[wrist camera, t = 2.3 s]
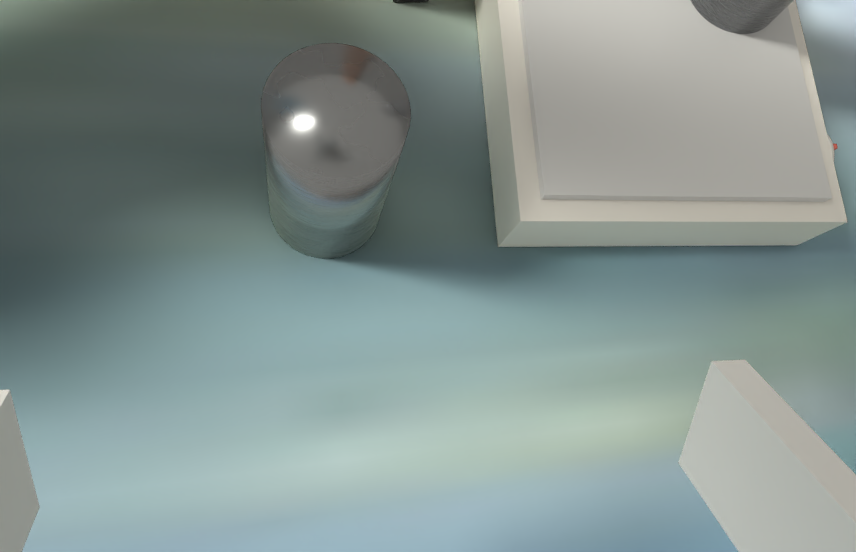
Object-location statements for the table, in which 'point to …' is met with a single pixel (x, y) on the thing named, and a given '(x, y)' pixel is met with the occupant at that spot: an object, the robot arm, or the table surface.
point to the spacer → (331, 145)
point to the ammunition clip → (410, 0)
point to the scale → (651, 127)
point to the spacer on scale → (740, 13)
